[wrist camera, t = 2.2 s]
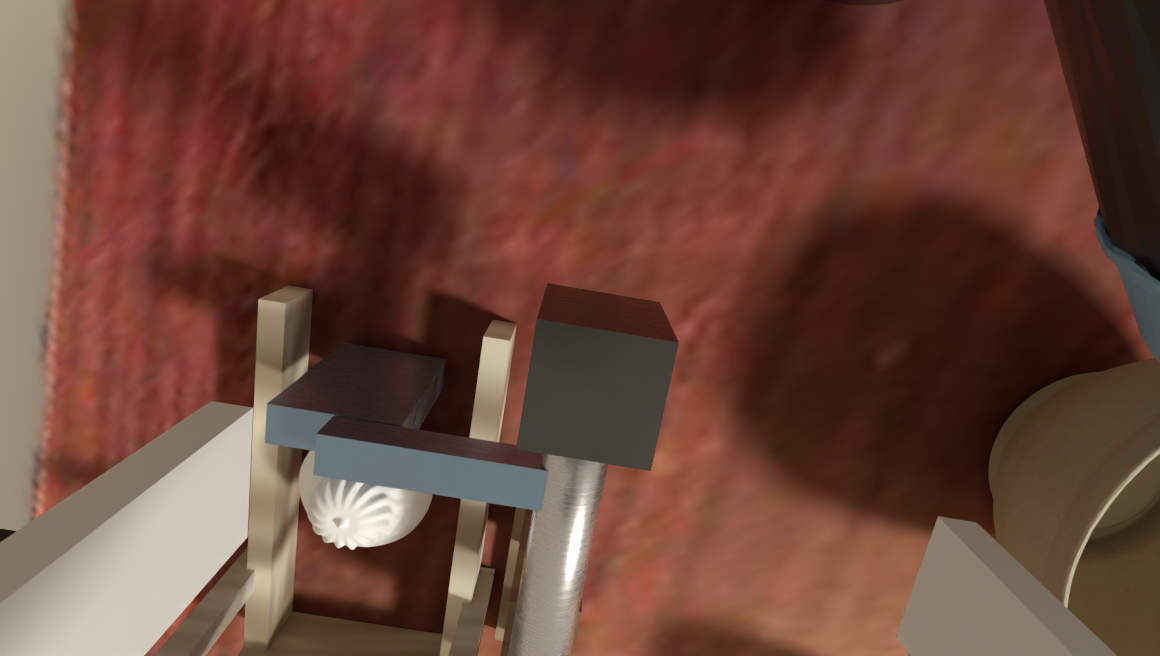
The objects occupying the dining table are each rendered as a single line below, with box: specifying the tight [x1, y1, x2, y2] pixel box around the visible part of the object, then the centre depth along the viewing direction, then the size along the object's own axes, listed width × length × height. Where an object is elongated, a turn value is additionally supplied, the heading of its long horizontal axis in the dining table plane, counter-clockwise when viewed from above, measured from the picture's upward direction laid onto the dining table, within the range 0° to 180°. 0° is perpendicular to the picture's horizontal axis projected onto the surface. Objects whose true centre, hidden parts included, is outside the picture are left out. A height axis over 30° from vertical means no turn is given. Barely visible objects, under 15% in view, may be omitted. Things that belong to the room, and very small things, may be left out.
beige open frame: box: [153, 285, 517, 656], centre depth 30 cm, size 20×13×10 cm, turn 170°
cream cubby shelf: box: [494, 507, 582, 656], centre depth 32 cm, size 9×4×8 cm, turn 170°
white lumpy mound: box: [299, 450, 433, 550], centre depth 31 cm, size 6×6×7 cm
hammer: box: [265, 284, 679, 656], centre depth 27 cm, size 21×14×13 cm, turn 170°
